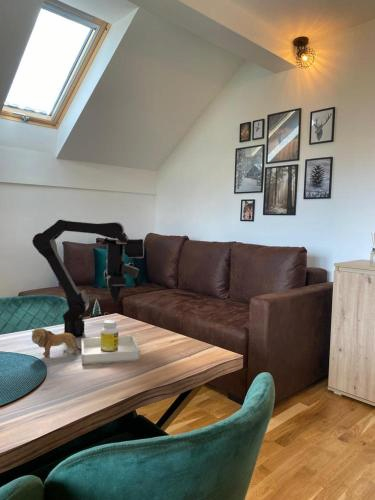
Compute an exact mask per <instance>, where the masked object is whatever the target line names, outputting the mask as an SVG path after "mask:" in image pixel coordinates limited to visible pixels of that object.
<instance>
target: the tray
mask: <svg viewBox="0 0 375 500" xmlns="http://www.w3.org/2000/svg"><path fill="white" fill-rule="evenodd" d="M80 339H81V341H80V347H81V348H80V349H81V365H82V366H85V365H99V364H111V363H124V362H137V361H138V362H139V361H141V349H140V348H139V345H138V343H137V340H136V339H135V337H134V334H133V335H118V351H117V352H108V353H102V352H101V336H99V337H96V336H95V337H81V338H80Z"/></svg>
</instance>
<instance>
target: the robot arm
mask: <svg viewBox="0 0 375 500" xmlns="http://www.w3.org/2000/svg"><path fill="white" fill-rule="evenodd" d="M64 232H71V233H85V234H94V235H95V234H96V235H99V236H102V237H105V239H104V240H103V241H102V242H101V245H102V246H103V245H104V246H105V245H106V259H105V262H106V269H105V270H104V272H103V277H104V280H105V283H106V286H107V288H108V292H109V294H110V296H111V298H112V302H113V303H114V304H118V302H119V297H120V293H121V290H122V289H123V288H124V287H125V286H126V285H127V278H126V277H125V276H126V275H127V276H131V277H132V278H135V279H136V278H137V277H138V274H139V271H140V269H139V268H137V267H135V264H134V263H132V262H129V263H128V264H127V263H125V261H124V255H125V256H127V258H130V259H132V258H134V259H135V258H136V259H143V258H144V255H145V247H144V239H143V238H138V239H135V238H134V239H133V238H132V239H131V238H129V236H127V234H126V232H125V228H124V225H123V224H122V223H121V222H119V221H113V222H111V221H110V222H101V223H100V222H99V223H96V222H95V223H94V222H86V221H85V222H84V221H77V220H75V221H74V220H67V219H59V220H57V221H55V223H53V224H52V225H50V226H49V227H48V228H46V229H45V230H44V231H43V232H39V233H36V234H35V235H34V236H33V237H32V246H33V247H34V248H35V249H36V251H37V252H38V253H39V254H40V255H41V256H42V257H43V258H44V259H45V260H46V261H47V263H48V265H49V267H50V268H51V270H52V272H53V274H54V276H55V278H56V280H57V282H58V283H59V285H60V287H61V289H62V290H63V292H64V294H65V299H66V305H67V307H68V309H67V311H65V312H64V313H63V314H62V318H63V321H64V323H63V324H64V325H63V326H64V329H63V333H70V334H72V335H73V336H74V337H75V338H79V337H81V338H83V337H84V334H85V320H84V319H83V316H82V315H84V314H85V312H86V311H87V310H88V308H89V307H90V302H89V300H90V298H89V297H88V295H87V294H86V290H85V289H83V290H82V291H81V290H80V289H79V288H78V287H77V286H76V284H75V282H74V281H73V278H72V277H71V274H70V273H69V272H68V270H67V267H66V266H65V264H64V262H63V260H62V259H61V257H60V254H59V252H58V245H57V243H56V240H57V239H58V238H59V237H60V236H62V234H63V233H64ZM109 238H110V239H109ZM118 241H119V242H118Z"/></svg>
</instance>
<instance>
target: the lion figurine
mask: <svg viewBox="0 0 375 500" xmlns="http://www.w3.org/2000/svg"><path fill="white" fill-rule="evenodd" d="M31 332H32V333H31V341H32V343H34V344H35V345H37V346H38V348H44V352H43V353H42V355H44V358H49V357H50V355H51V347H58V346H59V347H60V346H62V345H63V344H65V345H66V349H64V350H63V353H68V352H69V350H70V349H71V350H72V351H73V352H72V353H71V354H72V356H75V355H77V354H78V353H77V352H78V351H81V348H79V346H78V343H77V340H76V337H74V336H73V335H72V334H70V333H64V332H63V333H58V334H57V333H56V334H55V333H53V332H52V331H50V330H47V329H45V328H43V327H42V328H41V327H38V328H35V329H34V330H32V331H31Z"/></svg>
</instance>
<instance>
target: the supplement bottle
mask: <svg viewBox="0 0 375 500" xmlns="http://www.w3.org/2000/svg"><path fill="white" fill-rule="evenodd" d="M117 322H118V321H117V320H115V319H107V320H104V321H103V326H104V327H102V328H101V330H100V337H101V352H102V353H108V352H117V351H118V336H119V332H120V331H119V328H118V327H117V325H118V323H117Z"/></svg>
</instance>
